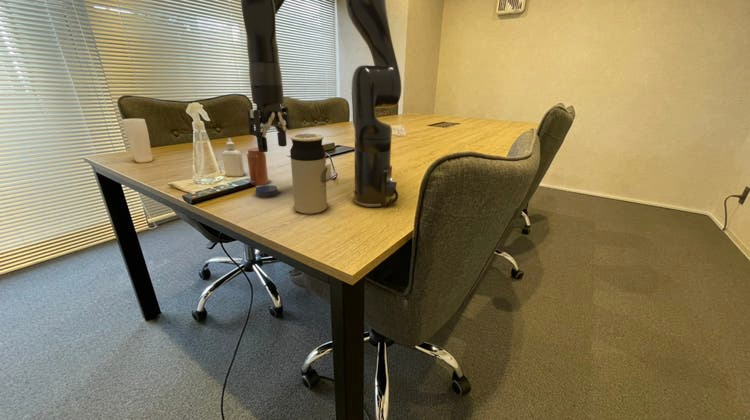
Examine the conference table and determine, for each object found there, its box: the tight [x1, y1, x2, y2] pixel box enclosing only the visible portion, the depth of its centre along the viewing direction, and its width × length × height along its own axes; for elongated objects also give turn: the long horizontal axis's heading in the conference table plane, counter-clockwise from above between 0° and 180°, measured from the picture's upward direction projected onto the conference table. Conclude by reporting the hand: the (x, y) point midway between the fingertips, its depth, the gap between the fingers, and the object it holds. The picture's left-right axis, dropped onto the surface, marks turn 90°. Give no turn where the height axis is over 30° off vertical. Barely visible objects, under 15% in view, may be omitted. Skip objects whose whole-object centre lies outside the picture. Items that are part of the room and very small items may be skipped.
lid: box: [255, 184, 279, 199], centre depth 85 cm, size 6×6×2 cm
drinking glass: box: [121, 118, 154, 164], centre depth 110 cm, size 7×7×15 cm
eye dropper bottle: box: [221, 137, 245, 178], centre depth 98 cm, size 4×6×12 cm
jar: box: [246, 147, 269, 186], centre depth 92 cm, size 5×5×10 cm
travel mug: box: [289, 133, 328, 215], centre depth 73 cm, size 8×8×18 cm
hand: (273, 148), depth 81 cm, fingers open, 8 cm apart
